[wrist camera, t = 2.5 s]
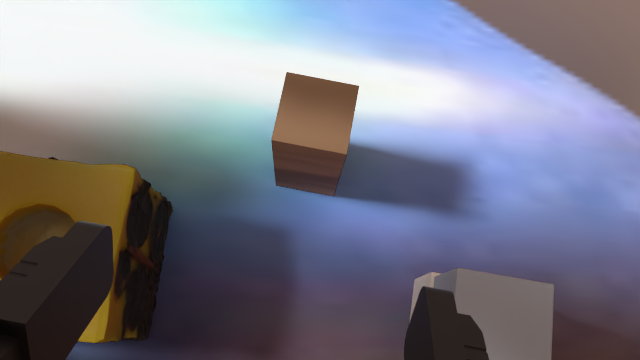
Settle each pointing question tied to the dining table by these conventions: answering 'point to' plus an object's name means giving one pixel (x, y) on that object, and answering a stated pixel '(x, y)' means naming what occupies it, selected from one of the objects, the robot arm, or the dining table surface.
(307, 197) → the dining table surface
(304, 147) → the pillar
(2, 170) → the yellow patterned cube
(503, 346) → the block
